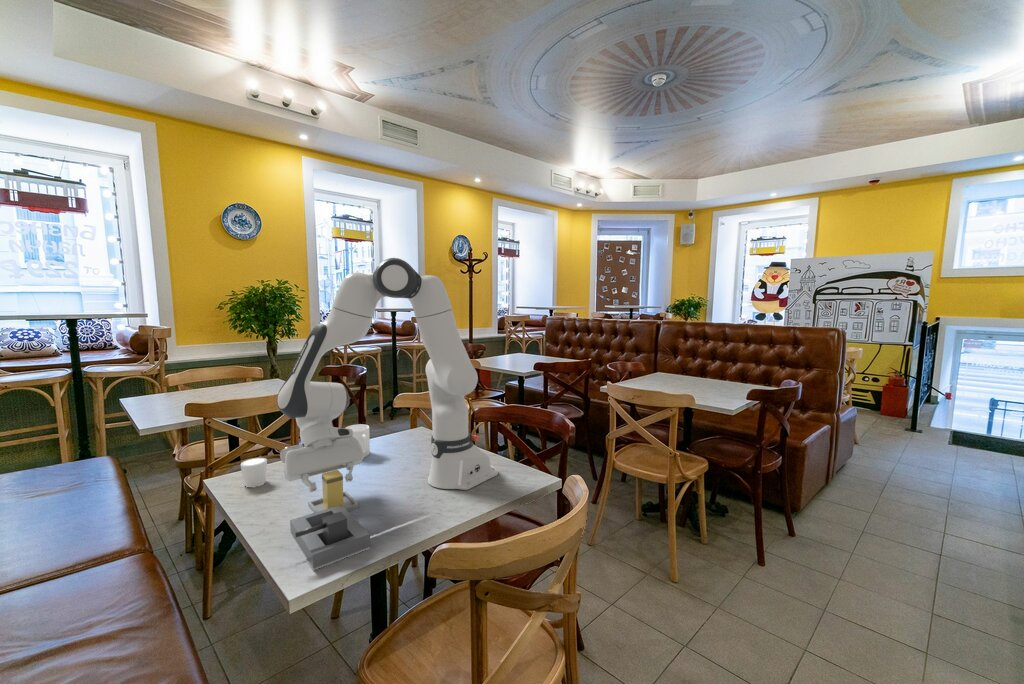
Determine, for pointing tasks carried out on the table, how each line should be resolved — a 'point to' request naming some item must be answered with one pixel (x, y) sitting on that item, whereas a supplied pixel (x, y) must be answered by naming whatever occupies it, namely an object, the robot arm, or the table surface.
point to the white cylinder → (254, 472)
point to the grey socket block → (329, 536)
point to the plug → (332, 489)
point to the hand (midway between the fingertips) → (332, 485)
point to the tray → (347, 499)
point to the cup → (361, 436)
